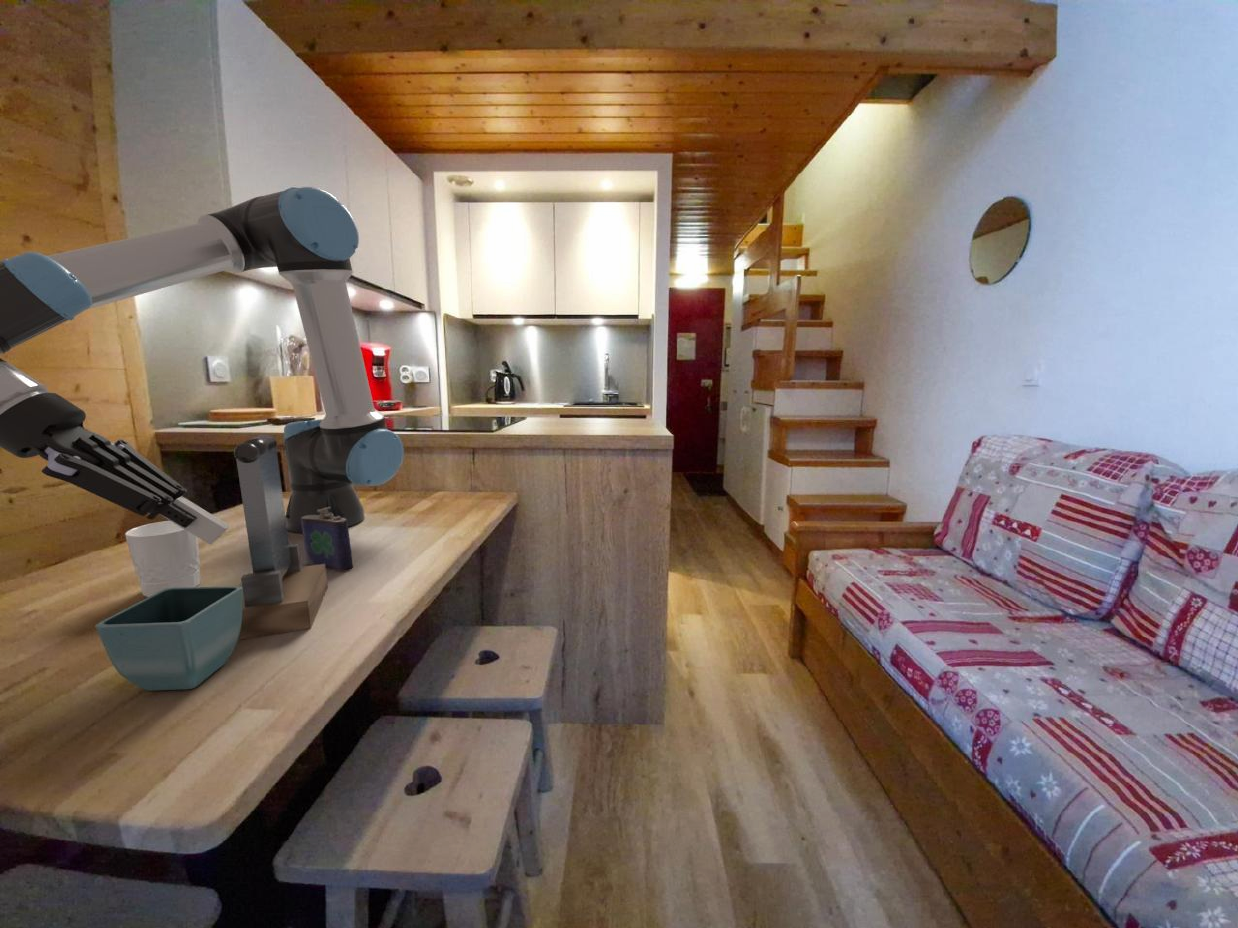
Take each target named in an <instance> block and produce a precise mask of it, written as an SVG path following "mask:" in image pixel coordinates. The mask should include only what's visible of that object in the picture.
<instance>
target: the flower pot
mask: <svg viewBox="0 0 1238 928" xmlns="http://www.w3.org/2000/svg"><path fill="white" fill-rule="evenodd" d="M242 588H243V587H241V586H238V585H236V586H200V587H199V586H196V587H190V588H167V589H164V590H162V591H159V592H158V593H156V594H154V595H152V596H150V597H146V598H144V599H142V600H140V601H139V602H137V603H135V604H132V605H131V606H128V607H127V608H124V609H123V610H120V611H118V612H117V613H115V614H113V615H112V616H110V617H107V618H104V620H102V621H100V622H99V623H96V624H95V629H96V631H97V634H98V635H99V638H100V640H101V643H102V645H103V647H104V649H105V652H106V654H107V656H108V658H109V661H110V662H111V664H112V666H113V667H114V669H115V670H116V671H117V672H118V673H119V675H121V676H122V677H123V678H124V679H126V680H127V681H128V682H129V683H131V684H132V685H135V686H137V687H138V688H141V689H142V690H144V691H173V690H174V691H175V690H192V689H195V688H197V687H198V686H199V685H200V684H201V683H203V682H204V681H205V680H206V679H208V678H209V677H210V676H212V675H213V673H215V672H217V670H219V669H220V668H221V667H222V666H224V665H225V664H226V663H227V661H228V660H229V658H230V656H231V655H232V653H233V651H234V649H235V647H236V645H237V643H238V641H239V640H238V637H239V634H240V630H241V623H242Z"/></svg>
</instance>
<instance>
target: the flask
mask: <svg viewBox="0 0 1238 928" xmlns="http://www.w3.org/2000/svg"><path fill="white" fill-rule="evenodd" d="M328 508H329V509H330V508H331V507H325V508H322V509H320V510H319V509H318V510H317V511H318V512H319V513H320V514H319V515H306V516H303V517H301V525H302V532H303V533H302V539H303V540H302V541H303V545H304V555H305V556H304V558H305V565H306V566H311V565H320V564H325V568H326V570H330V569H332V570H333V571H335V570H337V571H338V572H340V571H342V572H347V571H346V570H349V571H351V570H353V569H354V568H353V567H354V564H353V555H352V548H351V540H350V539H351V538H350V532H349V531H350V530H349V527H348V521H347V519H345V518H341V516H338V517H334V516H333V513H331V512H328ZM352 568H353V569H352ZM350 569H351V570H350ZM337 571H336V572H337Z"/></svg>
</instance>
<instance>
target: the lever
mask: <svg viewBox="0 0 1238 928" xmlns="http://www.w3.org/2000/svg"><path fill="white" fill-rule="evenodd" d="M233 455H234V458H235V460H236V466H237V471H238V472H237V473H238V479H239V487H240V493H241V500H242V506H243V512H244V520H245V528H246V533H247V541H248V547H249V554H250V561H251V568H252V573H253V574H254V573H262V572H270V571H278V570H281V575H282V578H283V577H284V575H285V573H286V572H287V570H288V568H289V567H290V565H291V556H290V548H289V545H290V543H289V542H290V541H289V533H288V530H287V525H286V518H285V515H286V512H285V503H284V496H283V487H282V481H281V475H280V473H281V472H280V465H279V464H280V463H279V458H278V450H277V440H276V439H275V437H274V436H272V435H270V434H267V433H264V434H263V433H262V434H260V435H256V436H255V437H253V438H250V439H249V440H246V441H243V442H241V443H239V444H238V445H236V447H235V448H234V449H233Z"/></svg>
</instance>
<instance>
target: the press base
mask: <svg viewBox="0 0 1238 928" xmlns="http://www.w3.org/2000/svg"><path fill="white" fill-rule="evenodd" d="M289 548H290V556H291V565H290V567H289V568H288V570H287V572H286V573H285V575H284V577H283V578H282V575H281V570H278V571H270V572H262V573H254V574H253V572H248V573H247V574H243V575H242V577H240V583H239V584H238V585H237V586H241V587H243V588H242V623H241V630H240V634H239V637H238V640H237V641H240V640H247V639H253V638H259V637H265V636H271V635H277V634H284V633H288V632H296V631H300V630H306V629H307V630H308V629H311V628H312V627H313V625H314V622H315V620H316V618H317V615H318V612H319V610H320V607H321V605H322V602H323V601H324V598H323V597H325V595H326V593H327V591H326V590H328V588H329V586H328V578H327V569H326V568H325V564H320V565H311V566H307V565H306V566H302V559H301V551H300V545H299V543H295V544H294V543H291V544H289ZM325 592H326V593H325Z"/></svg>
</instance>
